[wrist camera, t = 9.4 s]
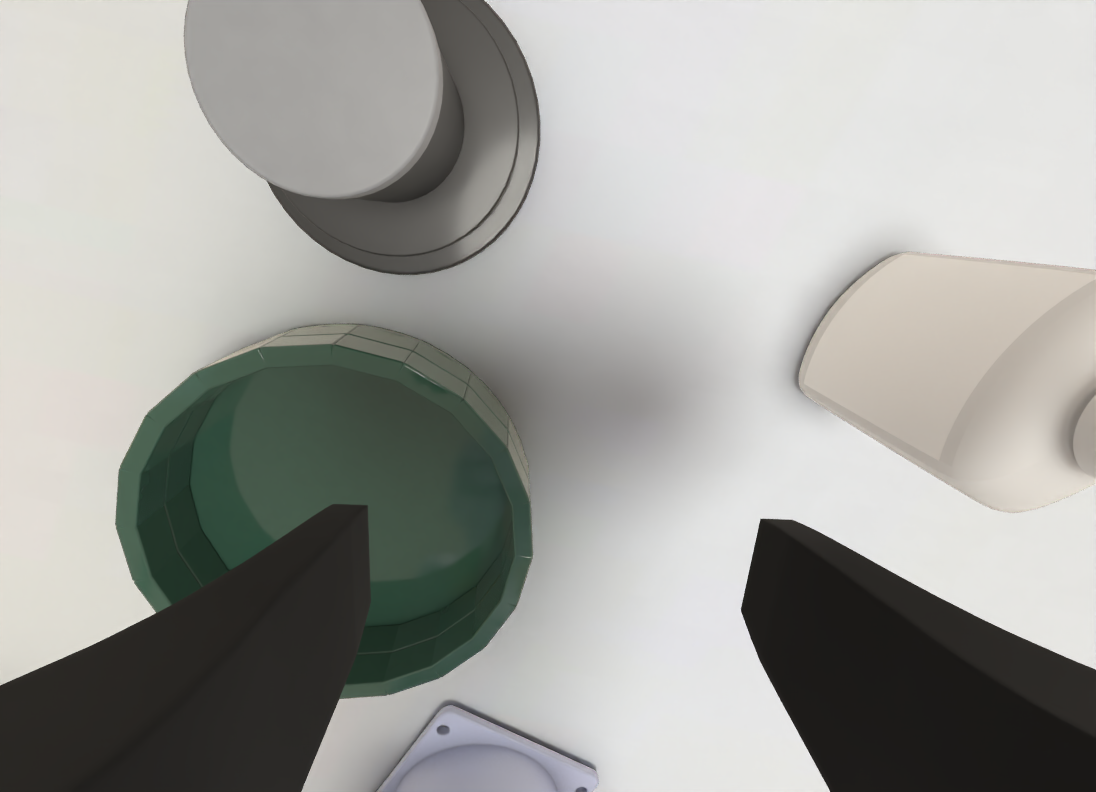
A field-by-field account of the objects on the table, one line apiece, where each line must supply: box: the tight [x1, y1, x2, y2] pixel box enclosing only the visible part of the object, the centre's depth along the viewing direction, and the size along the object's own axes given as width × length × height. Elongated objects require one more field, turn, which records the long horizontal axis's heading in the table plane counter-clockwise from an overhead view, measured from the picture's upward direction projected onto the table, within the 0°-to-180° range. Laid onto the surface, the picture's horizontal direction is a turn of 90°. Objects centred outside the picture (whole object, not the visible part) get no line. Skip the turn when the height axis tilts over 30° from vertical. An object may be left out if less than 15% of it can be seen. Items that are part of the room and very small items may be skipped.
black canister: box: [184, 0, 464, 203], centre depth 12 cm, size 4×4×6 cm
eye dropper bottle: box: [799, 252, 1096, 513], centre depth 13 cm, size 4×6×12 cm
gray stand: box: [267, 0, 540, 275], centre depth 15 cm, size 8×8×2 cm
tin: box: [115, 324, 533, 699], centre depth 18 cm, size 12×12×3 cm
